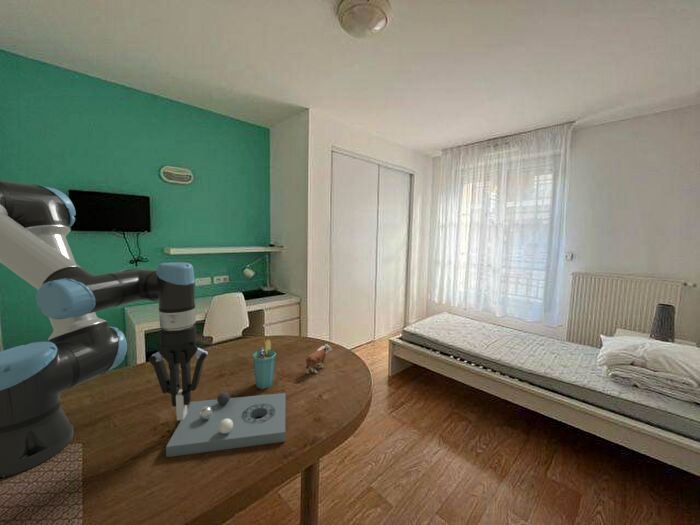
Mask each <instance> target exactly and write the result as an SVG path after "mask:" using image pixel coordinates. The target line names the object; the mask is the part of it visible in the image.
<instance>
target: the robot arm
mask: <svg viewBox="0 0 700 525" xmlns="http://www.w3.org/2000/svg"><path fill="white" fill-rule="evenodd" d="M76 214H77V213H76V208H75V206H74V204H73V201H72V200H71V199H70V198H69V197H68V195H66V194H65V193H64V192H62V191H61V190H59V189H57V188H53V187H48V186H44V185H40V184H33V183H32V184H27V183H21V182H15V181H14V182H13V181H7V180H0V264H1V265H4V267H6V268H7V269H9V270H10V271H12V272H13V273H14V274H15V275H17V276H18V277H19V278H21V279H22V280H24V281H25V282H26V283H28V284H29V285H31V286H32V287H33V288H34V289H36V290H37V293H36V303H37V306H38V308H41V313H42V314H43V315H44V316H46V317H48V319H49V322H50V324H51V326H52V330H53V332H52V333H51V334H50V335H49V337H48V339H47V341H35V342H30V343H28V344H21V345H17V346H13V347H10V348H8V349H4V350H2V351H0V477H3V476H7V477H10V476H14V475H16V474H19V473H22V472H25V471H27V470H30V469H32V468H33V467H36V466H39V465H40V464H43V463H44V462H46V461H47V460H49V459H51V458H53V457H55V456H56V455H57V454H59V453H60V452H62V451H63V450H64V449H65V448H66V447H67V446H68V445H69V444H70V443H71V442H72V440H73V438H74V426H73V423H72V422H71V421H70V420H69V418H68V417H67V415H66V413H65V412H64V410H63V408H62V404H61V394H62V393H63V392H65V391H68V390H70V389H72V388H74V387H77V386H78V385H81V384H82V383H85V382H88V381H90V380H92V379H93V378H96V377H99V376H101V375H104V374H106V373H107V372H109V371H111V370H113V369H114V368H117V367H118V366H119V365H120V364H121V363H122V362H123V361H124V359H125V356H126V355H127V352H128V351H127V350H128V343H127V338H126V336H125V334H124V332H122V330H120V329H119V328H118V327H116V326H109V324H108V321H107V320H105V319H103V318H99V317H98V315H97V314H96V312H100V311H104V310H107V309H111V308H116V307H120V306H124V305H129V304H132V303H137V302H141V301H142V302H143V301H146V302H147V301H149V302H157V303H158V313H159V314H158V315H159V316H158V317H159V318H158V319H159V327H160V328H161V329H160V330H159V339H160V341H159V342H160V347H159V349H158V351H157V352H155V353H153V354H152V355H151V356H150V357H148V360H147V361H148V362H149V363H150V364H151V365H152V366H153V368H154V372H155V375H156V378H157V380H158V383H159V387H160V389H161V392H162V393H163V394H170V395H171V406H172V407H176V421H181V420H184V418H185V416H186V414H187V409H188V406H189V405H190V403H191V402H192V401H191V400H192V397H191V396H192V395H191V393H192V392H194V391H195V390H196V389H197V387H198V386H199V384H200V380H201V375H202V371H203V368H204V367H203V366H204V363H205V360H206V357H207V356H208V354H209V353H210V351H209V349H202V348H200V345H199V344H198V342H197V325H196V324H195V323H196V322H197V319H196V318H197V317H196V302H195V301H196V300H195V299H196V297H195V296H196V295H195V294H196V293H195V292H196V291H195V290H196V289H195V288H196V286H195V285H196V279H195V270H194V266H193V264H192V263H189V262H181V261H180V262H176V261H175V262H173V261H172V262H163V263H159V264H157V267H156V269H155V270H154V269H141V268H126V269H123V268H122V269H120V270H118V271H117V272H112V273H103V274H92V273H90V272H89V271H87V270H86V269H84V268H82V267H81V266H80V265H78V264H77V262H76V260H75V257H74V255H73V253H72V249H71V248H70V245H69V242H68V240H67V236H68V235H69V233H70V232H71V228H72V226H73V225H74V224H75V222H76V217H75V216H76ZM195 354H196V364H195V367H194V371H193V376H191V362H192V358H193V357H194V356H195ZM163 358H164V359H163ZM164 360H165V361H166V362H167V363H168V369H169V373H168V370H167V367H166V364H165V362H164ZM180 369H181V378H180ZM191 377H192V378H191ZM180 379H181V381H180ZM180 382H181V383H180ZM180 388H181V389H180ZM3 478H4V477H3Z"/></svg>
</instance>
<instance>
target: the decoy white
mask: <svg viewBox="0 0 700 525" xmlns="http://www.w3.org/2000/svg"><path fill="white" fill-rule="evenodd" d="M232 428H233V422H232V420H231V419H228V418H227V419H224V420H222V421H221V422H220V424H219V431H220V432H221V433H222V434H226V433H229V432H230V431H231V430H232Z"/></svg>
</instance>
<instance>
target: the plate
mask: <svg viewBox="0 0 700 525" xmlns="http://www.w3.org/2000/svg"><path fill="white" fill-rule="evenodd" d="M205 406H209V407H211V408H212V410H213V414H212V416H211V417H210V418H209V419H207V420H201V419H200V418H199V412H200V410H201V409H202V408H203V407H205ZM257 417H261V418H257ZM227 418H228V419H231V420H232V422H233V428H232V430H231V431H230V432H229V433H226V434H222V433H221V432H220V431H219V424H220V422H221V421H222V420H224V419H227ZM179 421H180V422H178V424H177V427H176V428H175V430H174V432H173V434H172V436H171V437H170V439H169V441H168V443H167V444H166V447H165V452H166V453H165V454H166V455H165V456H166V458H169V457H171V458H172V457H178V456H179V457H180V456H185V455H187V456H188V455H193V454H200V453H201V454H202V453H208V452H217V451H225V450H229V449H237V448H238V449H239V448H246V447H254V446H260V445H261V446H262V445H268V444H278V443H284V442H286V392H279V393H272V394H271V393H270V394H269V393H268V394H260V395H259V394H258V395H248V396H240V397H239V396H238V397H230V399H229V401H228V402H227V403H226V404H224V405H221V404H219V403H218V401H217V398H216V399H206V400H205V399H204V400H197V401H190V403H189V404H188V406H187V414H186V416H185V418H184V420H179Z"/></svg>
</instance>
